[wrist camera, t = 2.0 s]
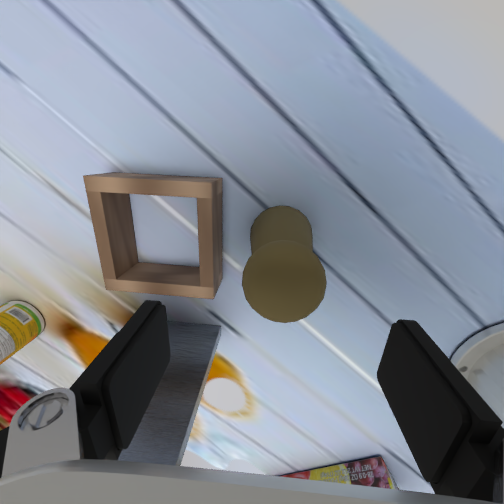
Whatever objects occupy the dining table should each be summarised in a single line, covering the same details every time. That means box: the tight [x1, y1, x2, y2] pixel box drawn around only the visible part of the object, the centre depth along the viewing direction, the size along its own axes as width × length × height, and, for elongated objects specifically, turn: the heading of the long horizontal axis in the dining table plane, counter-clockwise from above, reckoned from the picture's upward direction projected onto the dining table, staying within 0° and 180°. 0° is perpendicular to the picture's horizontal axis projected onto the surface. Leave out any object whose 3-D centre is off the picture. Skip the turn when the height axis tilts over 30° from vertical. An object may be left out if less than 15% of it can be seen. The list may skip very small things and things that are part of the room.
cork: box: [242, 206, 327, 323], centre depth 19 cm, size 6×6×11 cm
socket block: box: [83, 173, 222, 299], centre depth 23 cm, size 10×10×4 cm
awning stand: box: [104, 321, 221, 466], centre depth 21 cm, size 10×5×17 cm, turn 88°
